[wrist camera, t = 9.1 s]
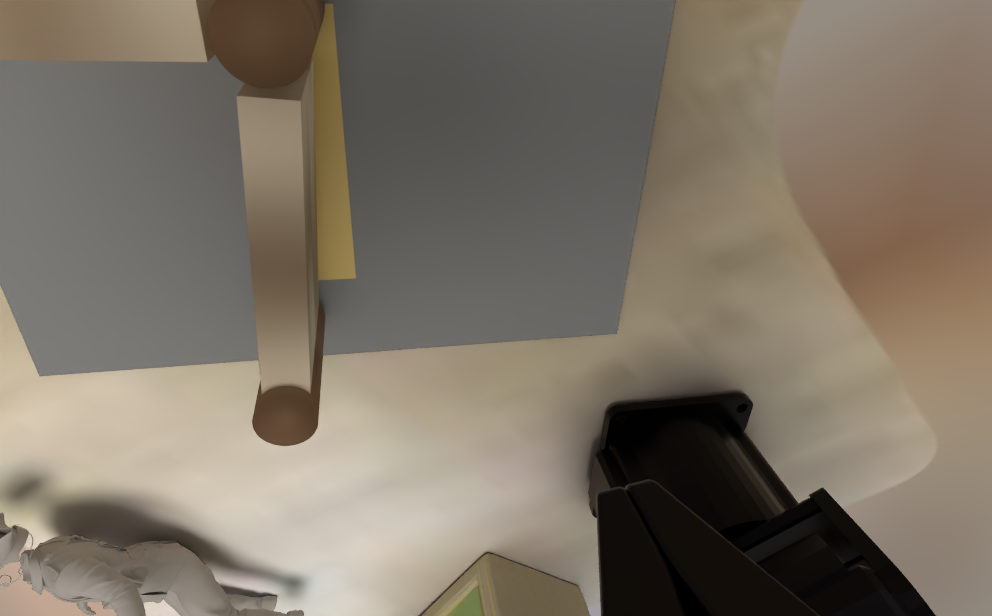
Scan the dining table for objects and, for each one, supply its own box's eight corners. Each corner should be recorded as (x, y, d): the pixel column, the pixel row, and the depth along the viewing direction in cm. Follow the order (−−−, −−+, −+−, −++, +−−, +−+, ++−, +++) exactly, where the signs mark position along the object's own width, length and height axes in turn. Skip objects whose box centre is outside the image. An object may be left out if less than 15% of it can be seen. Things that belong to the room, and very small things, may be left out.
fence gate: (326, 338, 21) (318, 444, 17) (275, 338, 20) (254, 447, 16) (321, 58, 16) (309, 108, 12) (255, 52, 16) (220, 101, 12)
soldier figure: (226, 619, 30) (-99, 637, 22) (254, 516, 31) (-44, 494, 23) (315, 681, 25) (-65, 737, 17) (345, 555, 26) (4, 546, 18)
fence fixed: (321, -38, 16) (307, -17, 11) (328, 38, 17) (318, 89, 12) (-83, -53, 14) (-308, -37, 9) (-50, 32, 15) (-239, 88, 10)
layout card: (697, -161, 16) (705, -164, 16) (613, 327, 24) (617, 334, 23) (-210, -236, 12) (-229, -241, 12) (44, 368, 20) (38, 378, 20)
